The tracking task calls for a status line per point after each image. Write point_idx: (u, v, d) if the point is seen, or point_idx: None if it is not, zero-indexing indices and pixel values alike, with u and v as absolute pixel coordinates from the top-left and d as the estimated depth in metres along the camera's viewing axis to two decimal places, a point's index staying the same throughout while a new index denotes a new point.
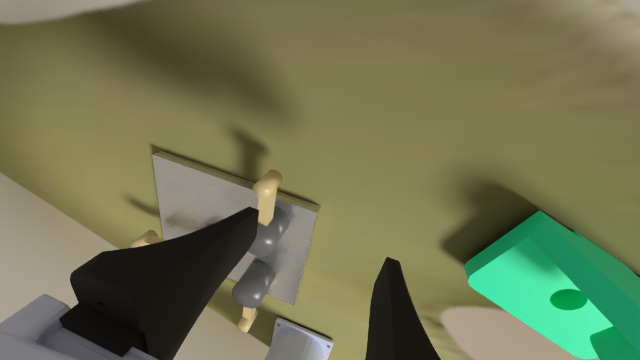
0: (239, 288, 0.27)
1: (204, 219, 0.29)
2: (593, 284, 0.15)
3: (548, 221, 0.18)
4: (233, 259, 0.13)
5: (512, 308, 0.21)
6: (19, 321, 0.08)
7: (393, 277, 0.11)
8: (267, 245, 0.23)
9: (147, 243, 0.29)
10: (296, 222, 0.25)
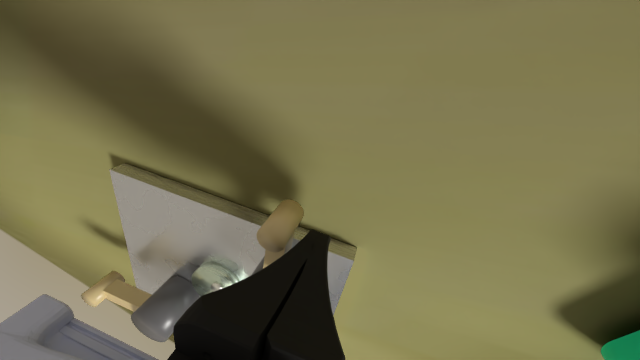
0: None
1: (186, 259, 0.21)
2: None
3: None
4: None
5: None
6: (18, 322, 0.08)
7: (316, 248, 0.12)
8: None
9: (107, 292, 0.21)
10: None
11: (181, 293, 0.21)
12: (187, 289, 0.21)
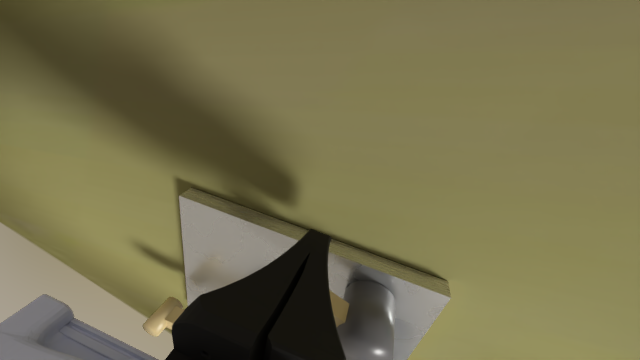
0: None
1: None
2: None
3: None
4: None
5: None
6: (19, 322, 0.08)
7: (316, 248, 0.12)
8: (371, 345, 0.13)
9: (168, 321, 0.20)
10: (409, 306, 0.16)
11: None
12: None
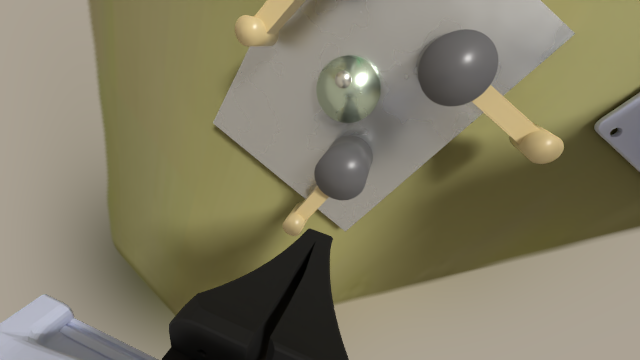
0: (427, 70, 0.12)
1: (312, 116, 0.18)
2: None
3: None
4: (298, 286, 0.12)
5: None
6: (19, 321, 0.08)
7: (318, 249, 0.12)
8: None
9: (298, 210, 0.19)
10: None
11: (339, 140, 0.17)
12: (342, 138, 0.18)
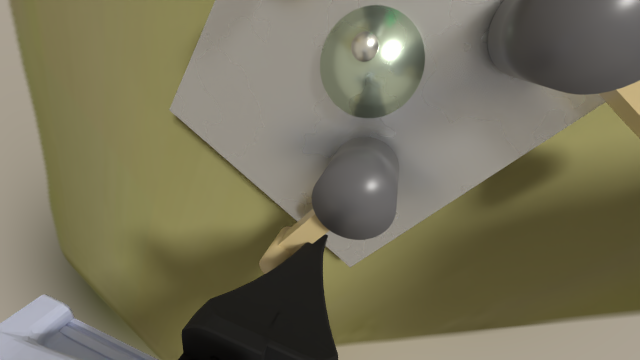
0: (546, 19, 0.06)
1: (312, 105, 0.12)
2: None
3: None
4: None
5: None
6: (19, 321, 0.08)
7: (311, 246, 0.12)
8: None
9: (283, 243, 0.13)
10: None
11: (352, 145, 0.11)
12: (357, 140, 0.12)
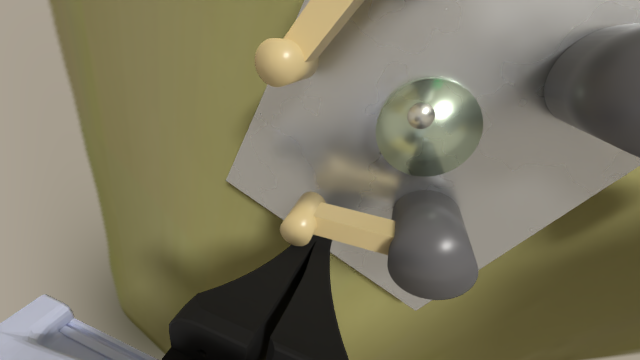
0: (628, 100, 0.06)
1: (366, 166, 0.13)
2: None
3: None
4: (298, 285, 0.12)
5: None
6: (19, 321, 0.08)
7: (318, 249, 0.12)
8: None
9: (321, 219, 0.11)
10: None
11: (454, 211, 0.11)
12: (455, 206, 0.12)
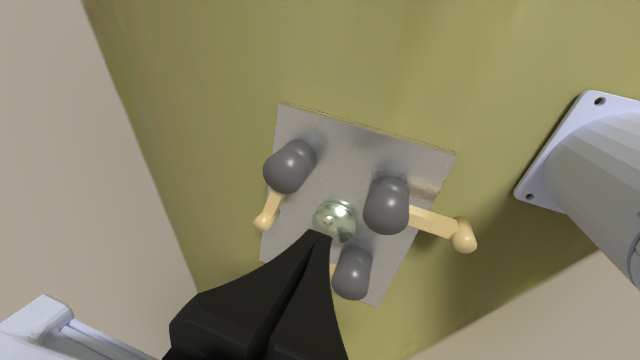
0: (368, 220, 0.19)
1: None
2: None
3: None
4: (298, 286, 0.12)
5: None
6: (18, 322, 0.08)
7: (318, 249, 0.12)
8: (269, 169, 0.20)
9: None
10: (297, 130, 0.21)
11: (362, 256, 0.24)
12: (364, 253, 0.24)
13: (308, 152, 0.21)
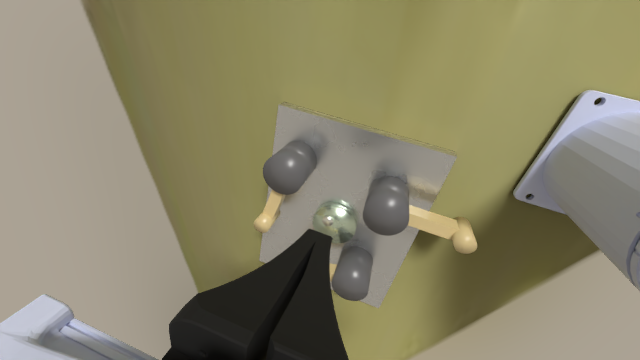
0: (368, 220, 0.19)
1: None
2: None
3: None
4: (298, 285, 0.12)
5: None
6: (19, 322, 0.08)
7: (318, 249, 0.12)
8: (269, 170, 0.20)
9: None
10: (297, 130, 0.22)
11: (362, 256, 0.24)
12: (364, 253, 0.24)
13: (308, 153, 0.21)
